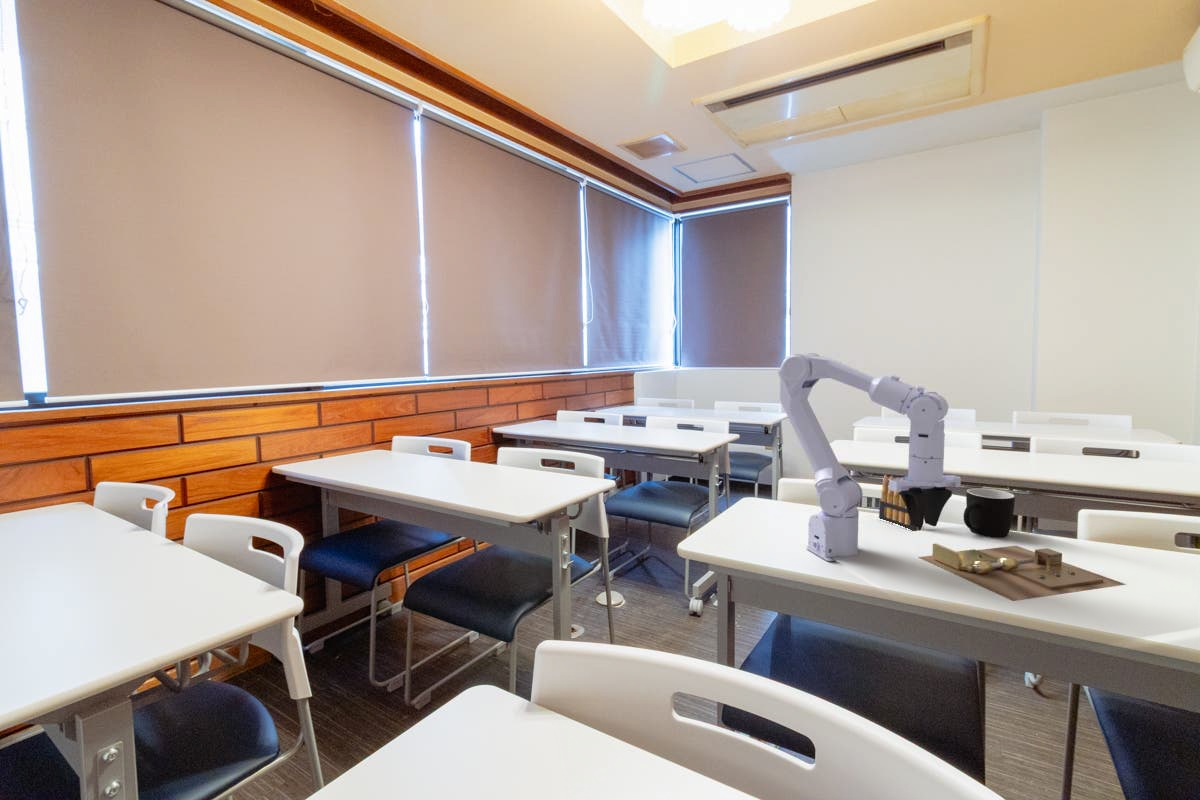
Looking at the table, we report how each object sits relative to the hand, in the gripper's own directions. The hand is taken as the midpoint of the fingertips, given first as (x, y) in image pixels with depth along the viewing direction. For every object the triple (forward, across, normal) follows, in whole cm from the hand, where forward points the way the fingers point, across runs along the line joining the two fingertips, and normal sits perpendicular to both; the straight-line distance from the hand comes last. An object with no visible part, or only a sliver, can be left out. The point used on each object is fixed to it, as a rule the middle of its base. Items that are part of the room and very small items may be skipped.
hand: (923, 525), depth 102 cm
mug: (+10, +29, +13) cm, 33 cm away
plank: (+9, +16, -5) cm, 19 cm away
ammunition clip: (+10, +17, +25) cm, 32 cm away
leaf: (+8, +13, -1) cm, 15 cm away
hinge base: (+9, +20, -9) cm, 23 cm away
